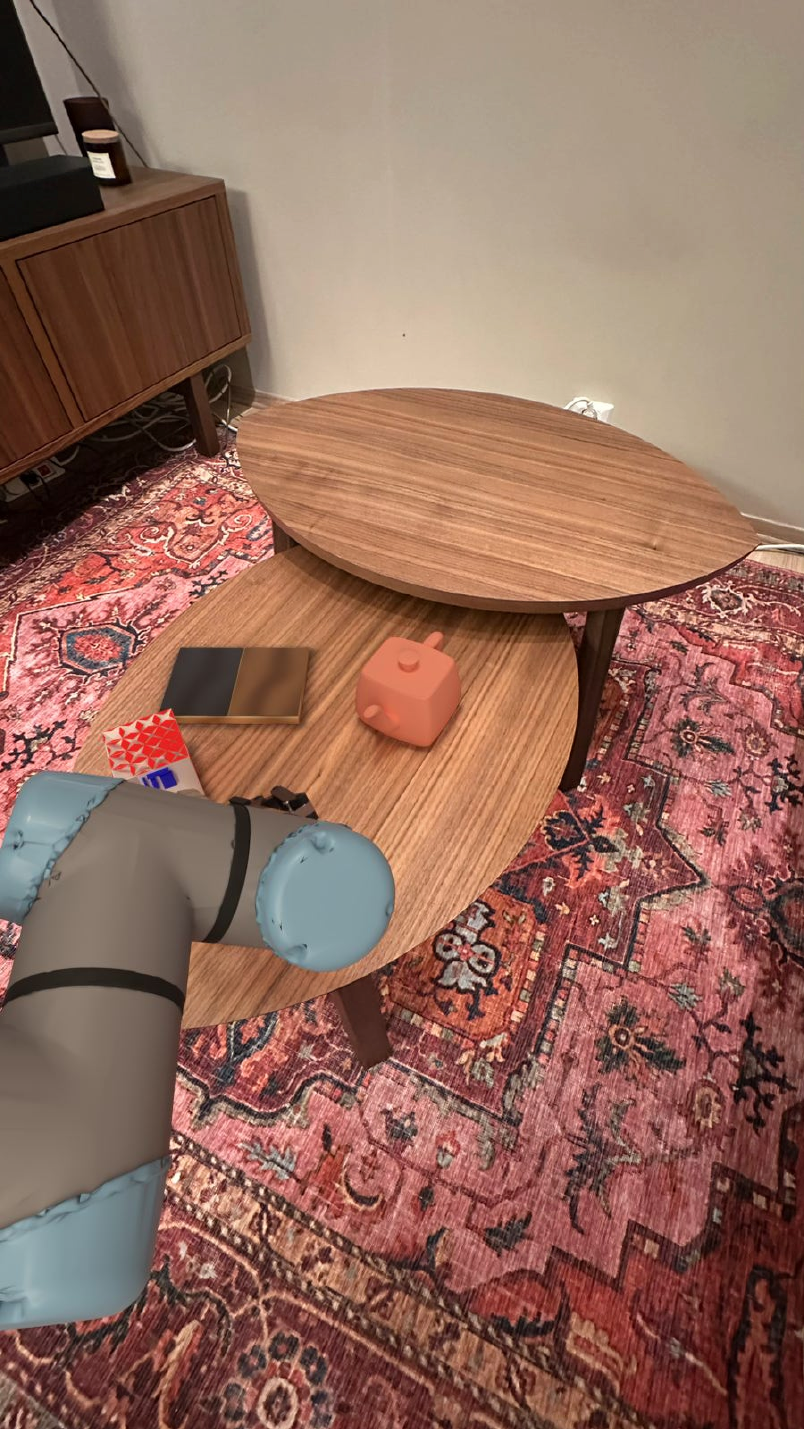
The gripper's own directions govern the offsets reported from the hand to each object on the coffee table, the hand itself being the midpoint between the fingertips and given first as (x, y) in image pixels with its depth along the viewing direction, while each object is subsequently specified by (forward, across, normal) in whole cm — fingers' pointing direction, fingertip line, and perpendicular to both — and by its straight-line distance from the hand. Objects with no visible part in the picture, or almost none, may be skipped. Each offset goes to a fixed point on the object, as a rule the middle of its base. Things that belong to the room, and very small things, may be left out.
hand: (203, 829), depth 69 cm
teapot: (+7, +29, -3) cm, 30 cm away
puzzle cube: (+14, 0, +4) cm, 15 cm away
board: (+20, +15, +10) cm, 27 cm away
